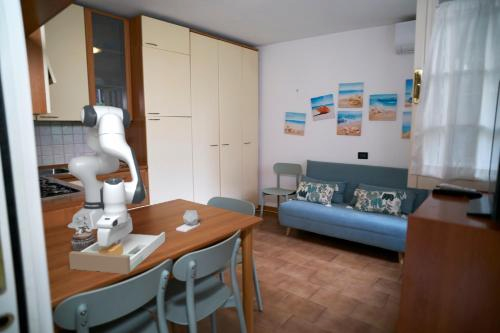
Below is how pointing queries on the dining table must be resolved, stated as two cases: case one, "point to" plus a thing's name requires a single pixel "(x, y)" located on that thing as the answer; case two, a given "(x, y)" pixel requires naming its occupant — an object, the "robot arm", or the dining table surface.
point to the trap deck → (131, 257)
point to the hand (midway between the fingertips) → (117, 249)
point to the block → (112, 249)
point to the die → (191, 217)
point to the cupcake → (82, 238)
